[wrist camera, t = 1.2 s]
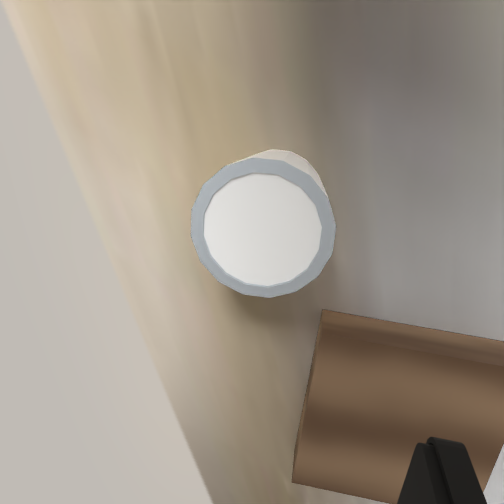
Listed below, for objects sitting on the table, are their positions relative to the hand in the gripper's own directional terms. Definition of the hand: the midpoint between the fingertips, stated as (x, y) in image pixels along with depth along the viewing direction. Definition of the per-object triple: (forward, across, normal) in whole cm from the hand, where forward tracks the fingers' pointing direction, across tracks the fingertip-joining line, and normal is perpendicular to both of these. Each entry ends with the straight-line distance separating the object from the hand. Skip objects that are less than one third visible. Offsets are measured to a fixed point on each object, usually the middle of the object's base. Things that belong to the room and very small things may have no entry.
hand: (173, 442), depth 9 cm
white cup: (+20, 0, 0) cm, 20 cm away
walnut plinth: (+20, -10, +13) cm, 26 cm away
